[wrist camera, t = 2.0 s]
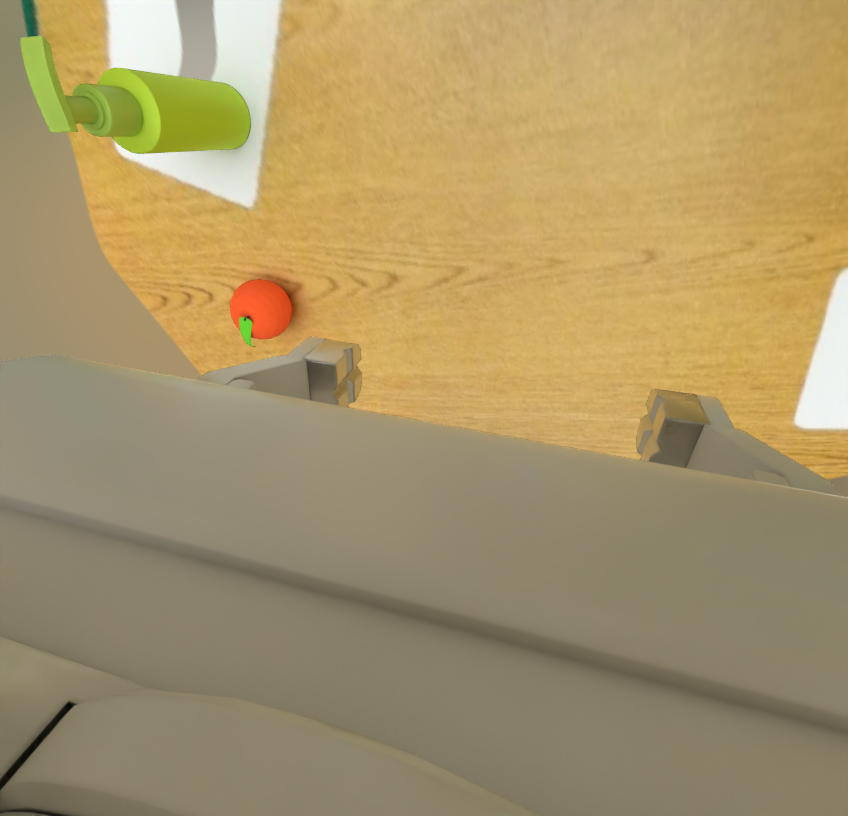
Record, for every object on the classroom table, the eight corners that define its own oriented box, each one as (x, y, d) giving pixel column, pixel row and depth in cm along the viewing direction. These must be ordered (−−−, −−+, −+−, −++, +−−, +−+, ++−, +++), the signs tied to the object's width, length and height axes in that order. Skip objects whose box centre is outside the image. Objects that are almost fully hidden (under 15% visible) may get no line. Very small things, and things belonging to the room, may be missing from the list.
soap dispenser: (241, 68, 46) (59, 31, 29) (255, 148, 50) (101, 156, 33) (190, 72, 47) (-12, 39, 31) (207, 149, 51) (35, 158, 34)
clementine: (299, 341, 60) (271, 364, 54) (250, 325, 61) (217, 346, 55) (304, 282, 56) (273, 299, 50) (251, 265, 57) (215, 281, 51)
